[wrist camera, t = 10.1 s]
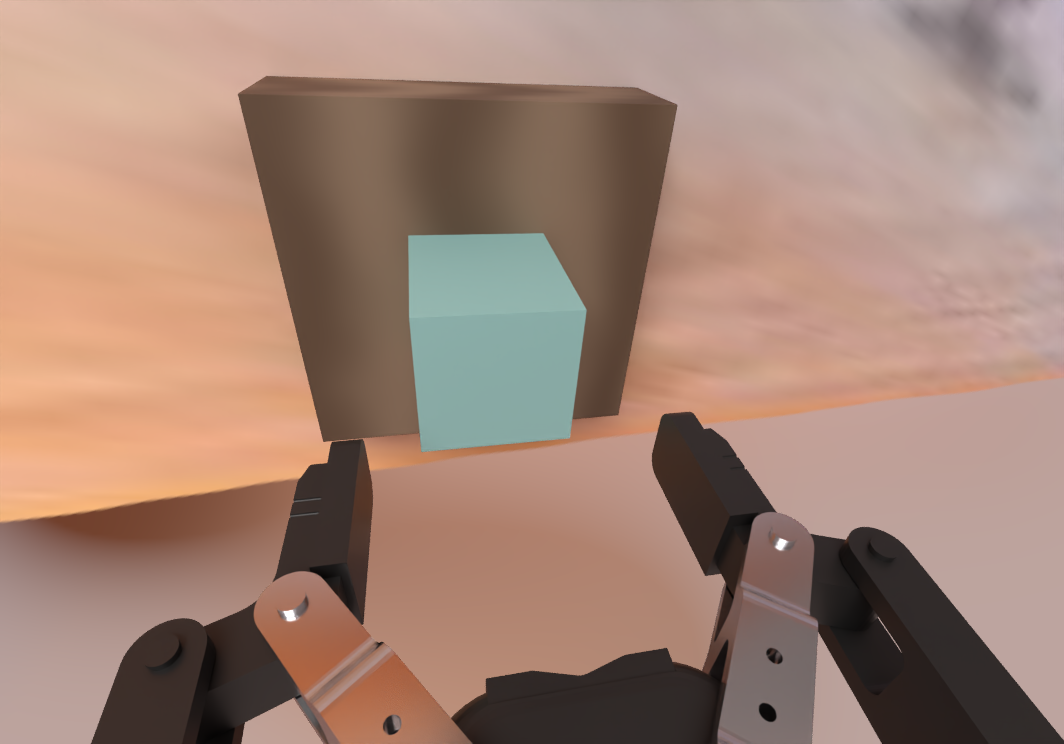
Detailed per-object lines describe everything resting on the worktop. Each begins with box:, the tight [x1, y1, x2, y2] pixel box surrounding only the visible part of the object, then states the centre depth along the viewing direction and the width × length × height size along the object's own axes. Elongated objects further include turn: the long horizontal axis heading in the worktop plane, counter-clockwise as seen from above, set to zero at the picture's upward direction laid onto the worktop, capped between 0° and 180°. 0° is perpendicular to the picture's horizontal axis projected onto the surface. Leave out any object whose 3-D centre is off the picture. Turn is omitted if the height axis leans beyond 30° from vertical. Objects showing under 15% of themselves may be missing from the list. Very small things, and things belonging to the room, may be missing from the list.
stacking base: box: [238, 76, 677, 442], centre depth 22 cm, size 14×14×4 cm
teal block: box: [408, 233, 587, 452], centre depth 18 cm, size 5×5×6 cm
